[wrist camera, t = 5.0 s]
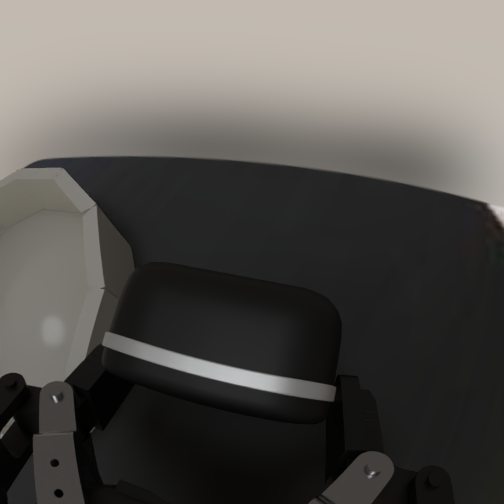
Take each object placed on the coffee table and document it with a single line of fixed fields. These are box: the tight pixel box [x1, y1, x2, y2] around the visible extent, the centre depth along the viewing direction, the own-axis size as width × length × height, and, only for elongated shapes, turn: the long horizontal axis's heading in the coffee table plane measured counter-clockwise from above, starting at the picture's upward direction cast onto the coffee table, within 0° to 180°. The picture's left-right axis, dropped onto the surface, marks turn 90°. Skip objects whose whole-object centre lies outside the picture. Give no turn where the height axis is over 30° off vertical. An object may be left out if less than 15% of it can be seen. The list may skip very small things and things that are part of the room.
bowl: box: [0, 168, 135, 439], centre depth 17 cm, size 20×20×6 cm
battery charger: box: [102, 262, 342, 424], centre depth 12 cm, size 7×4×11 cm, turn 78°
